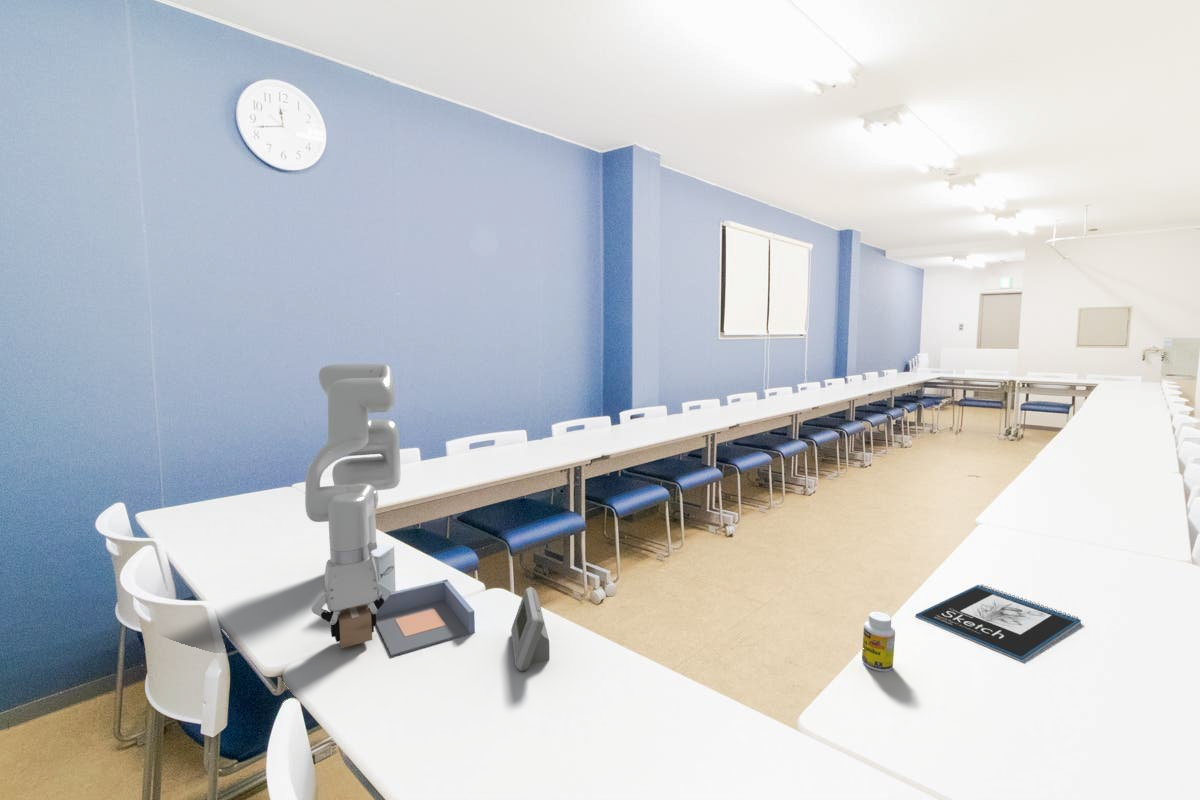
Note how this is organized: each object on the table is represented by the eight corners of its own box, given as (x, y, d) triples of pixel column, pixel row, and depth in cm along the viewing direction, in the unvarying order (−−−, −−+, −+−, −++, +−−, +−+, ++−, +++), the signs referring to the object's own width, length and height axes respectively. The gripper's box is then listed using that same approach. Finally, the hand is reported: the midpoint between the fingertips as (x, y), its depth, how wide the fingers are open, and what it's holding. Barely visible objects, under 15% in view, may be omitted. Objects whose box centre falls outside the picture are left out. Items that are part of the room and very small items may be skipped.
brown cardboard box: (337, 634, 119) (335, 608, 118) (366, 627, 122) (365, 600, 122) (341, 648, 114) (339, 620, 113) (372, 639, 117) (371, 612, 117)
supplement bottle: (855, 660, 112) (858, 612, 111) (874, 654, 115) (877, 607, 114) (879, 675, 107) (882, 625, 106) (899, 668, 110) (902, 619, 108)
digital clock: (512, 630, 124) (511, 585, 123) (553, 630, 124) (552, 584, 123) (501, 674, 108) (500, 622, 106) (547, 674, 108) (547, 621, 107)
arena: (372, 617, 129) (371, 597, 129) (447, 598, 139) (447, 579, 138) (391, 657, 113) (390, 633, 113) (474, 632, 123) (474, 610, 122)
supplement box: (380, 607, 135) (377, 556, 133) (352, 604, 136) (350, 554, 135) (396, 593, 142) (395, 545, 140) (370, 590, 143) (368, 543, 142)
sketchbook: (915, 619, 130) (915, 611, 130) (979, 589, 146) (979, 582, 146) (1022, 664, 112) (1022, 655, 112) (1082, 625, 128) (1083, 616, 127)
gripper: (389, 539, 124) (392, 615, 126) (301, 555, 114) (307, 637, 117) (397, 550, 117) (400, 630, 120) (305, 568, 108) (310, 655, 110)
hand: (354, 633), depth 118 cm, fingers closed on brown cardboard box, 6 cm apart
